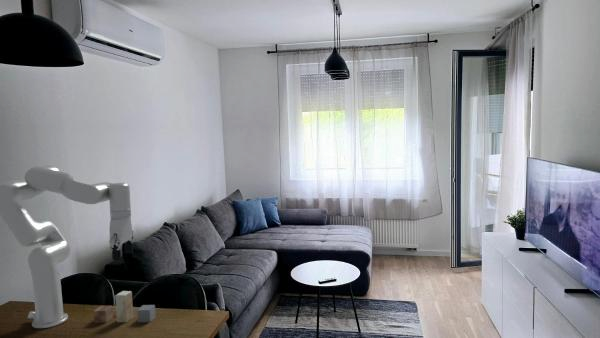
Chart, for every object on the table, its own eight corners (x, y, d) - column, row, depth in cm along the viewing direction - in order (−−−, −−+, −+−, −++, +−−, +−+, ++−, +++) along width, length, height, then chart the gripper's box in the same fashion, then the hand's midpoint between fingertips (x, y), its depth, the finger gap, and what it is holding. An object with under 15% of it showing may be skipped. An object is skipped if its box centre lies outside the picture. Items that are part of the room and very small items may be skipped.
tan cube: (94, 323, 166) (93, 310, 166) (101, 317, 171) (100, 305, 171) (106, 322, 166) (105, 310, 165) (113, 317, 171) (112, 305, 170)
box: (126, 322, 165) (124, 295, 164) (116, 322, 166) (114, 295, 165) (134, 317, 170) (132, 290, 169) (124, 316, 171) (122, 290, 170)
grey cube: (138, 322, 165) (137, 310, 164) (143, 316, 170) (142, 305, 169) (150, 322, 164) (149, 310, 164) (155, 316, 169) (154, 304, 169)
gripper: (122, 210, 173) (124, 250, 174) (99, 218, 156) (102, 263, 157) (139, 210, 173) (141, 250, 174) (118, 218, 155) (121, 262, 157)
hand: (123, 256), depth 166 cm, fingers open, 9 cm apart
